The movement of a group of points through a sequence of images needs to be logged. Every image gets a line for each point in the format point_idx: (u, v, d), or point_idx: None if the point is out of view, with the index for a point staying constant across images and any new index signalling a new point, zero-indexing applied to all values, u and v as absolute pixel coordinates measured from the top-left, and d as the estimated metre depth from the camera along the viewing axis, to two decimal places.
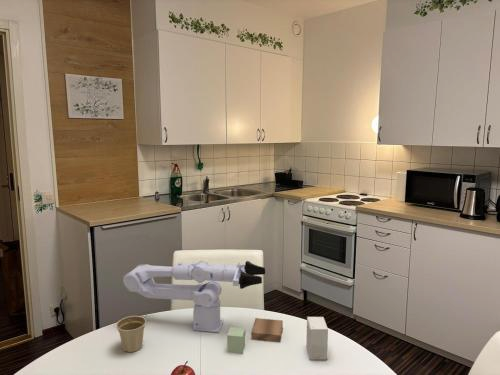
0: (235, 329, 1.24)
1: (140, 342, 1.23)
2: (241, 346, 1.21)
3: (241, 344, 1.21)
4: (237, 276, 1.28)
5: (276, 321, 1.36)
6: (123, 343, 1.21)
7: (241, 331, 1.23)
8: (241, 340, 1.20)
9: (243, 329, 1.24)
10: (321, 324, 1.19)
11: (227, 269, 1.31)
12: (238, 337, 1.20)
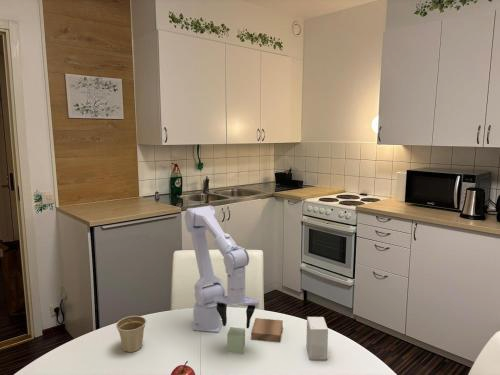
0: (235, 329, 1.24)
1: (140, 342, 1.23)
2: (241, 346, 1.21)
3: (241, 344, 1.21)
4: None
5: (276, 321, 1.36)
6: (123, 343, 1.21)
7: (241, 331, 1.23)
8: (241, 340, 1.20)
9: (243, 329, 1.24)
10: (321, 324, 1.19)
11: (229, 293, 1.19)
12: (238, 337, 1.20)
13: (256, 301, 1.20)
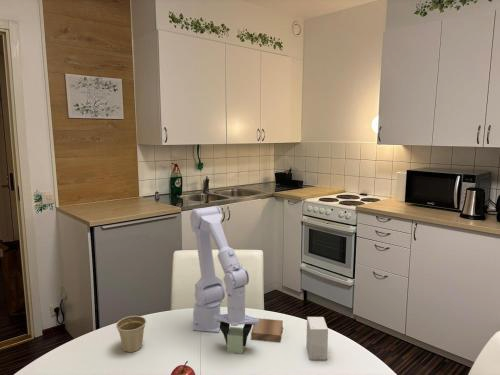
0: (235, 329, 1.24)
1: (140, 342, 1.23)
2: (241, 346, 1.21)
3: (241, 344, 1.21)
4: None
5: (276, 321, 1.36)
6: (123, 343, 1.21)
7: (241, 331, 1.23)
8: (241, 340, 1.20)
9: None
10: (321, 324, 1.19)
11: (229, 312, 1.20)
12: (238, 337, 1.20)
13: (256, 320, 1.21)
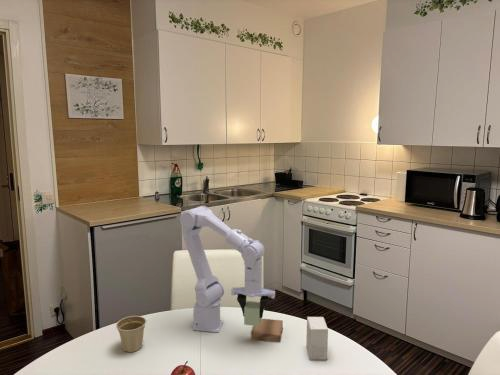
0: (252, 303, 1.28)
1: (140, 342, 1.23)
2: (258, 319, 1.24)
3: (258, 317, 1.24)
4: None
5: (276, 321, 1.36)
6: (123, 343, 1.21)
7: (258, 305, 1.26)
8: (258, 313, 1.24)
9: (259, 303, 1.28)
10: (321, 324, 1.19)
11: (246, 284, 1.23)
12: (255, 310, 1.24)
13: (272, 292, 1.24)
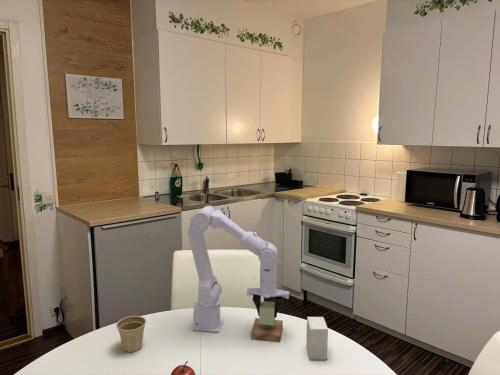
0: (266, 303, 1.32)
1: (140, 342, 1.23)
2: (272, 318, 1.29)
3: (273, 316, 1.29)
4: None
5: (276, 321, 1.36)
6: (123, 343, 1.21)
7: (272, 305, 1.31)
8: (273, 313, 1.29)
9: (274, 303, 1.32)
10: (321, 324, 1.19)
11: (262, 285, 1.28)
12: (270, 310, 1.29)
13: (286, 292, 1.29)
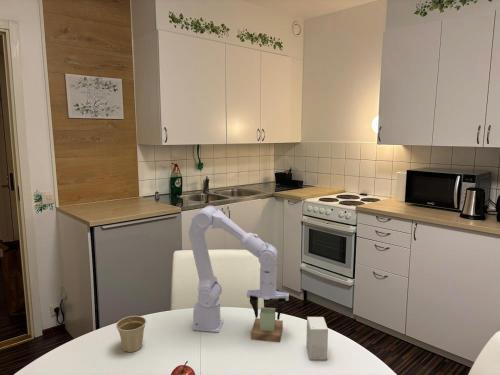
0: (266, 309, 1.33)
1: (140, 342, 1.23)
2: (273, 324, 1.29)
3: (273, 322, 1.29)
4: None
5: (276, 321, 1.36)
6: (123, 343, 1.21)
7: (272, 311, 1.31)
8: (273, 318, 1.29)
9: (274, 309, 1.33)
10: (321, 324, 1.19)
11: (261, 286, 1.28)
12: (270, 316, 1.29)
13: (286, 294, 1.30)
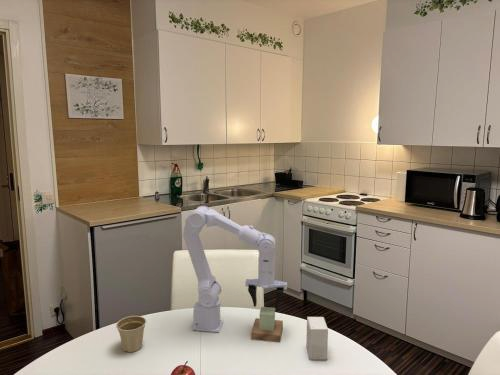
0: (266, 308, 1.33)
1: (140, 342, 1.23)
2: (272, 324, 1.30)
3: (272, 322, 1.29)
4: None
5: (276, 321, 1.36)
6: (123, 343, 1.21)
7: (272, 310, 1.32)
8: (273, 318, 1.29)
9: (273, 308, 1.33)
10: (321, 324, 1.19)
11: (260, 275, 1.29)
12: (270, 316, 1.29)
13: (285, 283, 1.30)
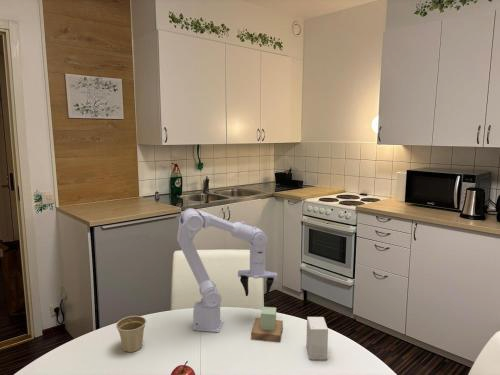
0: (267, 308, 1.33)
1: (140, 342, 1.23)
2: (274, 323, 1.30)
3: (274, 321, 1.30)
4: None
5: (276, 321, 1.36)
6: (123, 343, 1.21)
7: (273, 310, 1.32)
8: (274, 318, 1.29)
9: (274, 308, 1.33)
10: (321, 324, 1.19)
11: (251, 266, 1.37)
12: (271, 315, 1.29)
13: (274, 274, 1.39)
